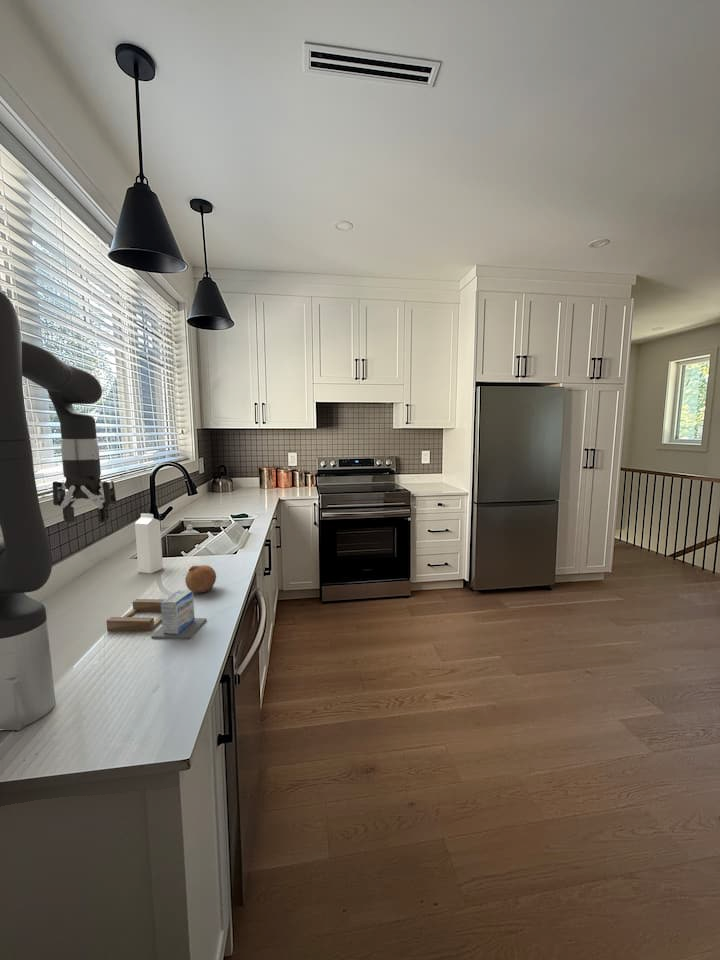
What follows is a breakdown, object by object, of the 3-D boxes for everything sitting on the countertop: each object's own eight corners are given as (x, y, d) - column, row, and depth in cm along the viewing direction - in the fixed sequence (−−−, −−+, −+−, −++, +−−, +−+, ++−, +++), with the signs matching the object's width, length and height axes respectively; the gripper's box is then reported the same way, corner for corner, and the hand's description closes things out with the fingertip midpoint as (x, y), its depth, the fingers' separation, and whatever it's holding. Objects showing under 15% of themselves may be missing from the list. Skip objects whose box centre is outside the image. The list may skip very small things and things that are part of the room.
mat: (190, 639, 100) (189, 636, 100) (151, 638, 101) (151, 636, 100) (206, 620, 110) (206, 618, 110) (171, 619, 110) (171, 617, 110)
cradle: (150, 631, 104) (149, 621, 103) (107, 631, 104) (106, 620, 104) (175, 609, 117) (174, 599, 117) (137, 608, 117) (136, 598, 117)
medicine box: (177, 635, 101) (176, 602, 100) (162, 633, 102) (159, 601, 101) (195, 620, 109) (193, 590, 108) (180, 619, 109) (178, 589, 108)
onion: (190, 602, 129) (173, 578, 126) (206, 584, 137) (191, 561, 134) (211, 596, 125) (194, 571, 122) (227, 578, 134) (211, 554, 131)
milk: (150, 567, 154) (147, 511, 151) (163, 568, 152) (159, 512, 149) (137, 572, 148) (133, 514, 145) (150, 573, 146) (147, 515, 144)
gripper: (40, 458, 93) (46, 525, 95) (99, 458, 92) (104, 526, 94) (64, 456, 100) (70, 518, 102) (119, 456, 100) (124, 519, 102)
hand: (86, 522), depth 98 cm, fingers open, 8 cm apart
